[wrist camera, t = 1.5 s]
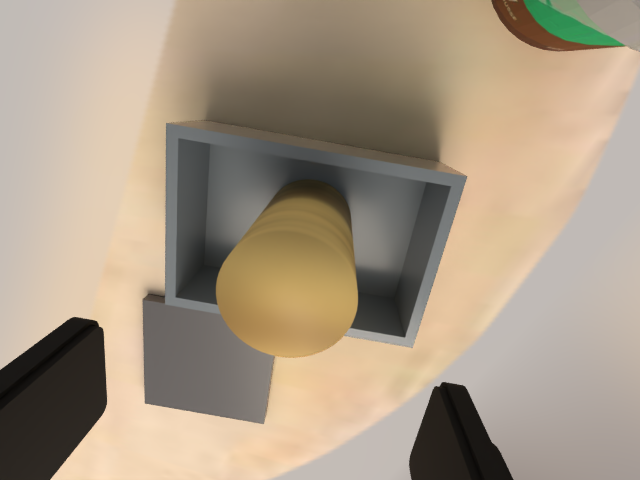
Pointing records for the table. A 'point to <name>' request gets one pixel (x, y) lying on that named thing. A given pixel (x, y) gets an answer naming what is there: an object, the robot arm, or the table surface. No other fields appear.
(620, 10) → the food container
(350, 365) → the table surface
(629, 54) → the table surface
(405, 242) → the slate open box
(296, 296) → the mustard cylinder
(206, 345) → the gray square plate
